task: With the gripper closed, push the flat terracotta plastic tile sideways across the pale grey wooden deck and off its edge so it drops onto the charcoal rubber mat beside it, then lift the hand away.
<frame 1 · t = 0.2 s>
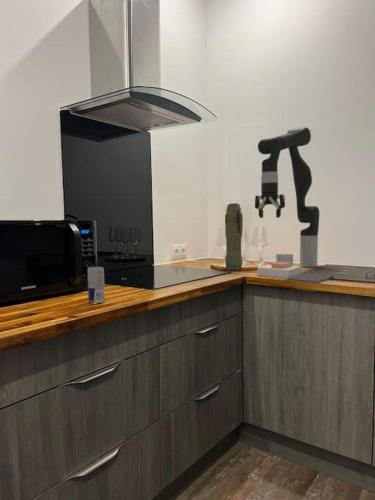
hand: (269, 217, 177), 28 cm above the worktop, tool pointing down, fingers open, 8 cm apart
medicine box: (284, 271, 196), on the worktop
tile: (281, 267, 181), point 4 cm above the worktop, touching deck
mat: (311, 278, 171), on the worktop
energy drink: (96, 303, 129), on the worktop
deck: (279, 275, 182), on the worktop
thermos: (233, 269, 204), on the worktop
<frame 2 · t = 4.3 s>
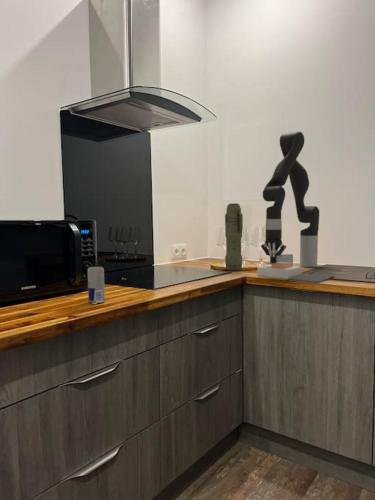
hand: (273, 264, 183), 5 cm above the worktop, tool pointing down, fingers closed
tile: (281, 267, 181), point 4 cm above the worktop, touching deck, gripper
everything else where it was.
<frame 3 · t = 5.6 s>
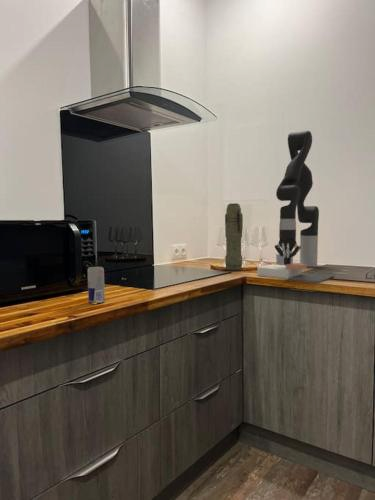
hand: (287, 265, 178), 5 cm above the worktop, tool pointing down, fingers closed
tile: (296, 268, 176), point 4 cm above the worktop
everything else where it was.
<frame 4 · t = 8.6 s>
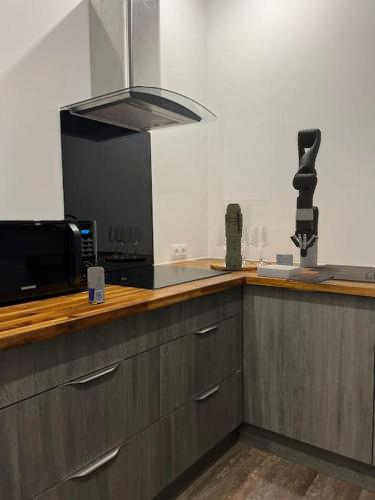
hand: (303, 256, 173), 10 cm above the worktop, tool pointing down, fingers closed
tile: (308, 272, 172), point 3 cm above the worktop, tilted 180°, touching mat
everything else where it was.
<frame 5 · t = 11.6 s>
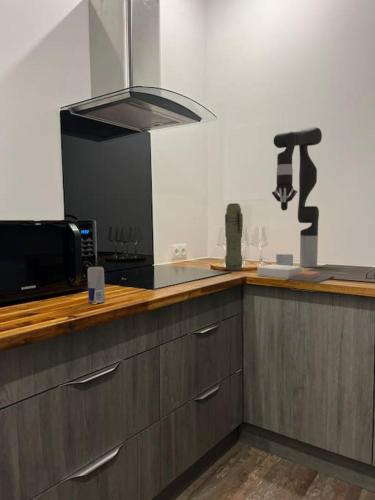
hand: (284, 210, 186), 31 cm above the worktop, tool pointing down, fingers closed
nothing on the worktop moved.
at the end: tile inside the target area on the mat (1.1 cm from its centre), point 2.6 cm above the mat's base; tile point 2.6 cm above the worktop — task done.
